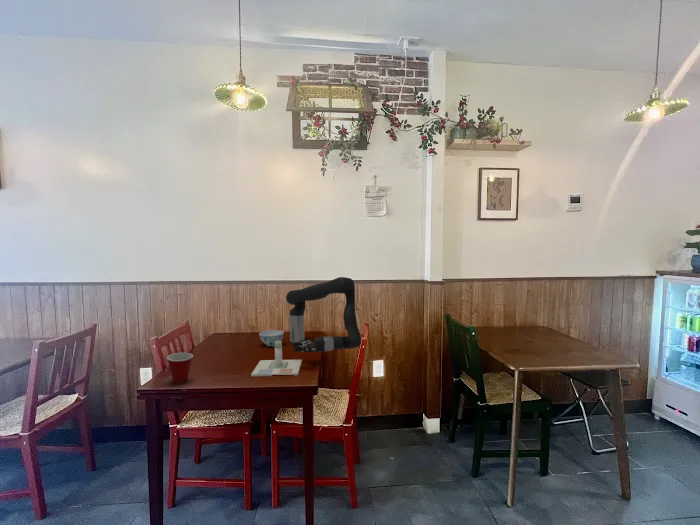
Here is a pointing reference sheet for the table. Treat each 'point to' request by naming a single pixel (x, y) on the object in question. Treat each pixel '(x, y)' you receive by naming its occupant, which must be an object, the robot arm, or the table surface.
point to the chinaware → (271, 336)
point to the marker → (278, 353)
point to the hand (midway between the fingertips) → (293, 347)
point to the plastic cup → (179, 366)
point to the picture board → (277, 368)
